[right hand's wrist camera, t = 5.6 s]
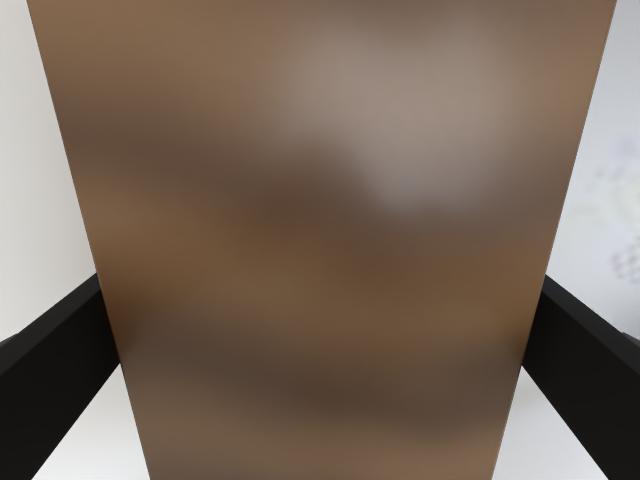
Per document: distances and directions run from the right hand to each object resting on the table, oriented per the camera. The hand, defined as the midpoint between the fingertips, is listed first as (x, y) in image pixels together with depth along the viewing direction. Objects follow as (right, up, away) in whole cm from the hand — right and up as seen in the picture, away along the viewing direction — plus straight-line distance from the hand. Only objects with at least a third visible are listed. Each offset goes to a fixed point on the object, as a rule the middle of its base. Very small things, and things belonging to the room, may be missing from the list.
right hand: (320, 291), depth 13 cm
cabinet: (0, +7, +4) cm, 8 cm away
